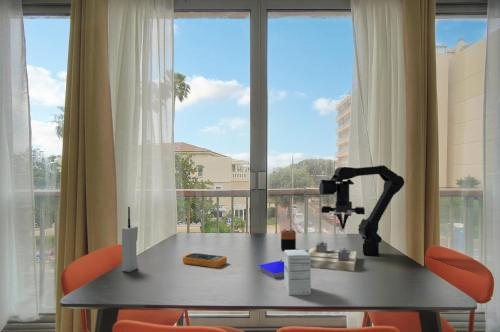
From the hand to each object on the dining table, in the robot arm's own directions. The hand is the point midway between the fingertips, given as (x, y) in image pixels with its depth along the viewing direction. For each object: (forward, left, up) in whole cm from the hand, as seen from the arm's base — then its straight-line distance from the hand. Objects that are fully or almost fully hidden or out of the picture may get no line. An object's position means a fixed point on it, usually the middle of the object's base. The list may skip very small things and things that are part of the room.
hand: (343, 228), depth 157 cm
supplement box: (+10, +51, -12) cm, 53 cm away
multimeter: (+54, +32, -13) cm, 64 cm away
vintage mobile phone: (+77, +50, -12) cm, 93 cm away
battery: (+26, -2, -12) cm, 29 cm away
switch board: (+4, +13, -12) cm, 18 cm away
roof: (+21, +34, -13) cm, 42 cm away
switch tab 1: (+8, +8, -9) cm, 15 cm away
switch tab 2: (-2, +18, -9) cm, 20 cm away
